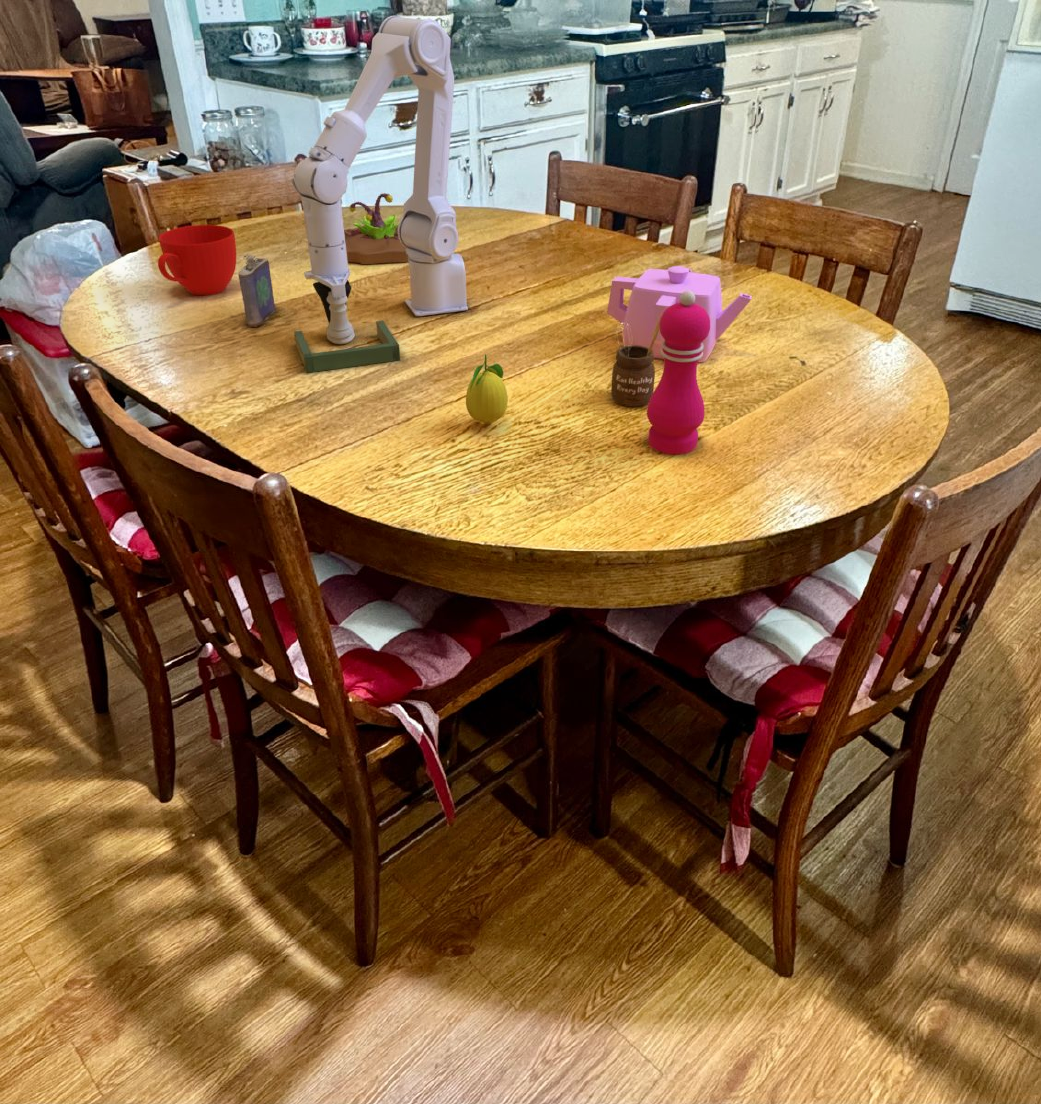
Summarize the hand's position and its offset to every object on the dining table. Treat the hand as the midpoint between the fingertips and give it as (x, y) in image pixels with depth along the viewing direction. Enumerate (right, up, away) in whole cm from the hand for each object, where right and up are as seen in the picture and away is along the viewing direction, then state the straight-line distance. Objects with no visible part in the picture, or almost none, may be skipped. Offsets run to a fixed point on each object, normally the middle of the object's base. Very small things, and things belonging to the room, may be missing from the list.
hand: (337, 326), depth 147 cm
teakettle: (+55, -4, -3) cm, 55 cm away
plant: (+1, +26, +40) cm, 48 cm away
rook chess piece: (+1, -2, -1) cm, 3 cm away
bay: (+2, -5, -5) cm, 8 cm away
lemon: (+25, -20, -26) cm, 42 cm away
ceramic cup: (-29, +11, +18) cm, 36 cm away
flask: (-15, +3, +8) cm, 17 cm away
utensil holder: (+46, -15, -19) cm, 52 cm away
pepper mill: (+50, -23, -30) cm, 63 cm away
